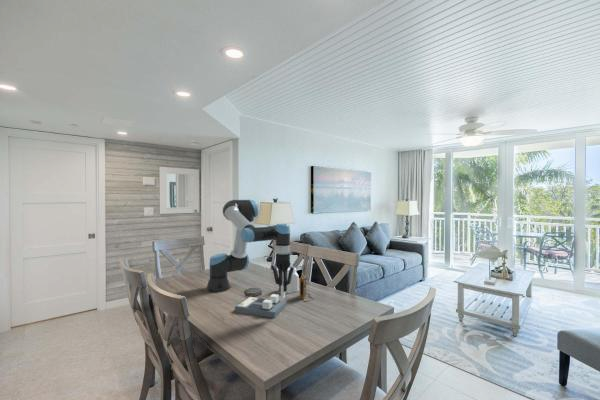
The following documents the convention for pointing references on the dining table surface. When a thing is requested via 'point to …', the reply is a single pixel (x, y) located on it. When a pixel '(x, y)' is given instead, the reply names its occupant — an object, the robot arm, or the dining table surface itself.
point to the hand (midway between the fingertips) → (283, 297)
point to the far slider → (274, 298)
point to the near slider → (267, 304)
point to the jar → (292, 282)
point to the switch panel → (259, 307)
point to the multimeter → (303, 286)
